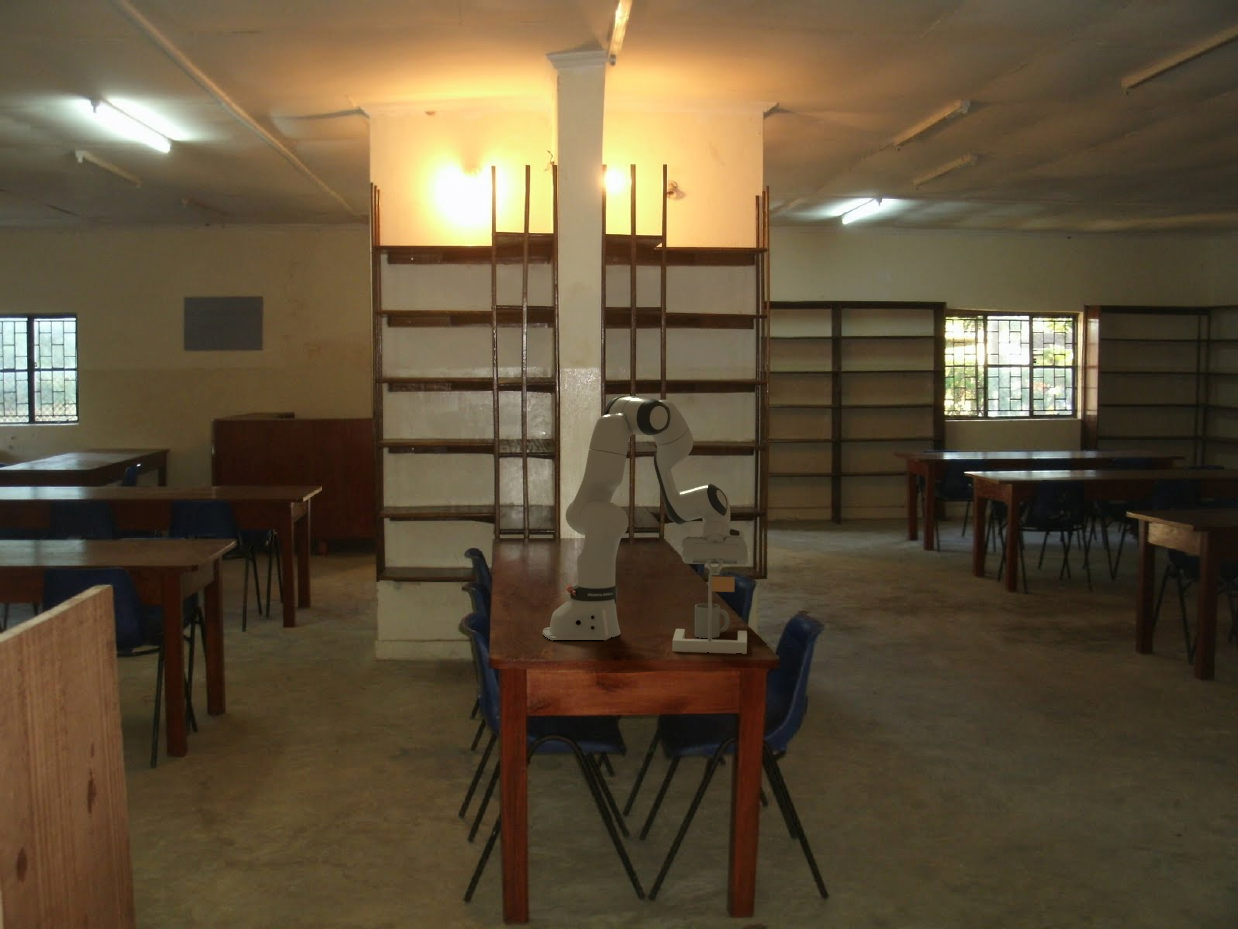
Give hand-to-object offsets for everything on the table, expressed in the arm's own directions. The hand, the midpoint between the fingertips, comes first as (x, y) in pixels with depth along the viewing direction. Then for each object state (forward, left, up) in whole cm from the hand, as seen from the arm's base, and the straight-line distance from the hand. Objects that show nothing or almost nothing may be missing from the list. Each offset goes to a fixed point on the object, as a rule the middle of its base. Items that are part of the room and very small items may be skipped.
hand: (714, 573), depth 328 cm
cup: (-6, -18, -15) cm, 24 cm away
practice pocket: (-11, -29, -15) cm, 35 cm away
